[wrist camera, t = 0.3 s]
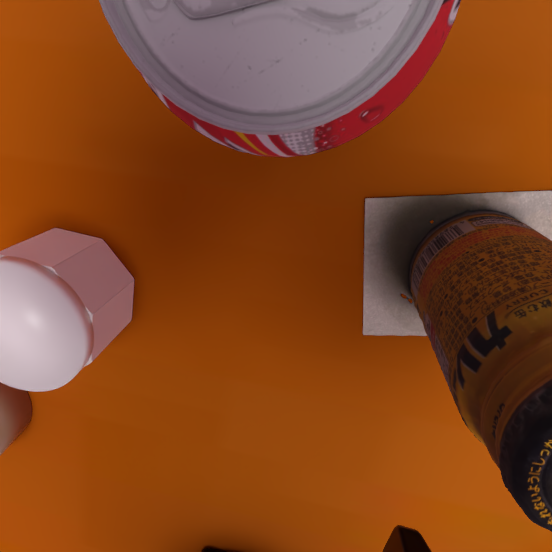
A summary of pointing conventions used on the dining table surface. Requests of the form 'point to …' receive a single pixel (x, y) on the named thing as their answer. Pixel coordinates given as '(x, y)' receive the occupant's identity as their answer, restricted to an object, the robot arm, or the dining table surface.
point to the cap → (59, 307)
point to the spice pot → (13, 414)
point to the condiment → (476, 316)
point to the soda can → (281, 64)
